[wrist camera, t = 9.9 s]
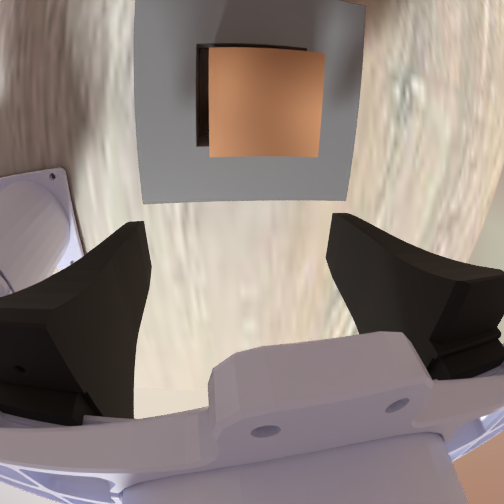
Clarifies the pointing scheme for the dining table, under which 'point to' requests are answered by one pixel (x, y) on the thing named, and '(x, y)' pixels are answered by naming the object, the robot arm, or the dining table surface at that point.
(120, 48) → the dining table surface
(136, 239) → the robot arm
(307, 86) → the square peg
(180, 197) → the bore block
